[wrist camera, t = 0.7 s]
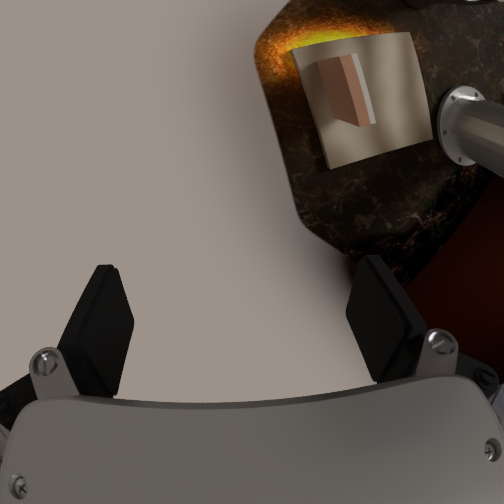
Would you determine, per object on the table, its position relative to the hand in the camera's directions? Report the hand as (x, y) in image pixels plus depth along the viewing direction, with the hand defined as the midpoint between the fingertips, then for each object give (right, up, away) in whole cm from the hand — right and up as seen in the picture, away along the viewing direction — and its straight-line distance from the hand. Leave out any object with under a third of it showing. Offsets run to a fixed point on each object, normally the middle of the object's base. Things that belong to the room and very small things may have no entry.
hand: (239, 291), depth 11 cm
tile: (+9, +20, +17) cm, 27 cm away
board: (+15, +20, +18) cm, 31 cm away
